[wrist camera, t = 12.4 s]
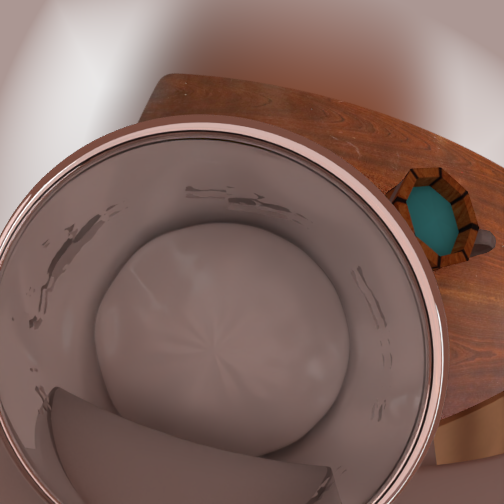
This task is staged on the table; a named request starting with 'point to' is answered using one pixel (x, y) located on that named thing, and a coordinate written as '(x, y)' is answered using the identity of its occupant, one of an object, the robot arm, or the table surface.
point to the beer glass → (223, 305)
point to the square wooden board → (472, 433)
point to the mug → (440, 217)
